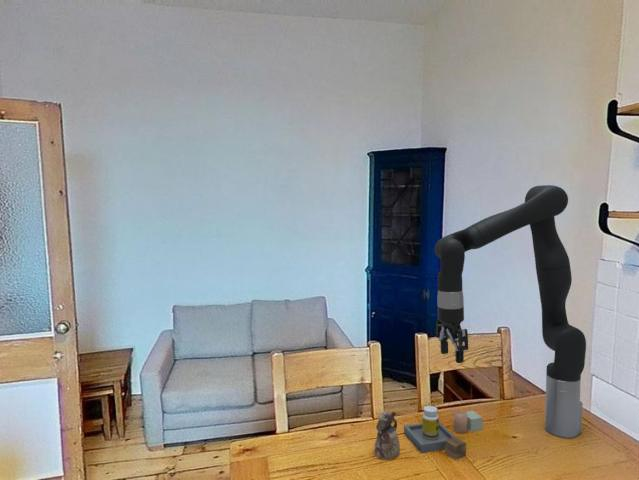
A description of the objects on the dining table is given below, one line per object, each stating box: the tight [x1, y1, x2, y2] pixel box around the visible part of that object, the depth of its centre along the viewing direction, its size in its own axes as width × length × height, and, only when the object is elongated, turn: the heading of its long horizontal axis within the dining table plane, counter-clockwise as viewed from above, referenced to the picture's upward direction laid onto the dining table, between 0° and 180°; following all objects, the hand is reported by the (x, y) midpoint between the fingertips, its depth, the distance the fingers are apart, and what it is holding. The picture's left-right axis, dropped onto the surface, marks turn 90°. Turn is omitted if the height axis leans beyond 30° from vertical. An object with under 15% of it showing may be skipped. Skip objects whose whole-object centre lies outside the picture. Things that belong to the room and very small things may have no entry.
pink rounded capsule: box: [453, 411, 468, 434], centre depth 144 cm, size 4×4×5 cm
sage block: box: [463, 410, 483, 432], centre depth 146 cm, size 4×5×4 cm
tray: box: [403, 421, 455, 454], centre depth 139 cm, size 12×12×2 cm
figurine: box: [373, 410, 401, 461], centre depth 132 cm, size 7×7×12 cm
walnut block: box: [444, 435, 467, 461], centre depth 131 cm, size 4×4×4 cm
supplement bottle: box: [422, 405, 440, 439], centre depth 138 cm, size 5×5×8 cm
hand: (451, 357), depth 140 cm, fingers open, 8 cm apart
